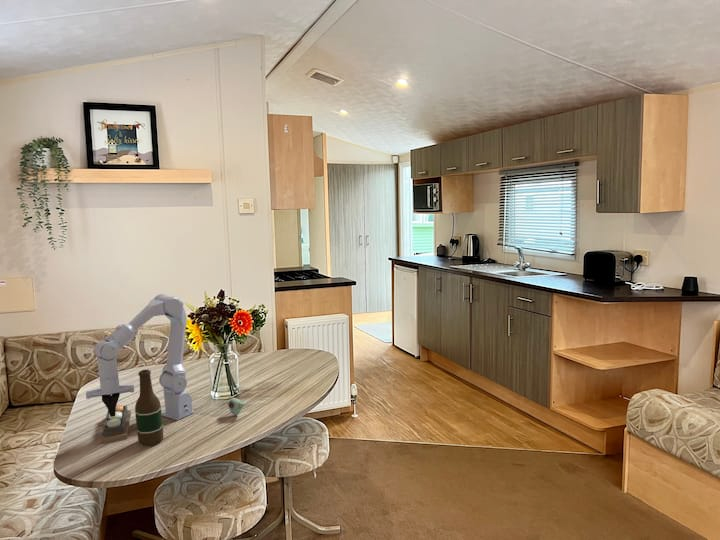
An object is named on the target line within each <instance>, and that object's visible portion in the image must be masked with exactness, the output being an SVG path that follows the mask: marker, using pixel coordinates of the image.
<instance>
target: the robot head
mask: <svg viewBox="0 0 720 540" xmlns="http://www.w3.org/2000/svg"><path fill="white" fill-rule="evenodd" d="M226 405H227V407H228V410H229V411H230V413H231V414H232V415H233V416H238V415H240V413H241V410H242V409H243V408H244V407H245V405H246V403H245V402H243V401H242V400H240V399H238V398H237V397H232V398H230V399H229V400H226Z"/></svg>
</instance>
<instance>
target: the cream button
mask: <svg viewBox="0 0 720 540" xmlns="http://www.w3.org/2000/svg"><path fill="white" fill-rule="evenodd" d="M115 413H116V414H115V416H112V417H111V416H110V414H109V420H112V419H122V412H115Z"/></svg>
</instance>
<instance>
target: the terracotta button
mask: <svg viewBox="0 0 720 540" xmlns="http://www.w3.org/2000/svg"><path fill="white" fill-rule="evenodd" d="M123 406H124V405H123V404H117V405H116V412H123V411H124V409H123Z"/></svg>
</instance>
